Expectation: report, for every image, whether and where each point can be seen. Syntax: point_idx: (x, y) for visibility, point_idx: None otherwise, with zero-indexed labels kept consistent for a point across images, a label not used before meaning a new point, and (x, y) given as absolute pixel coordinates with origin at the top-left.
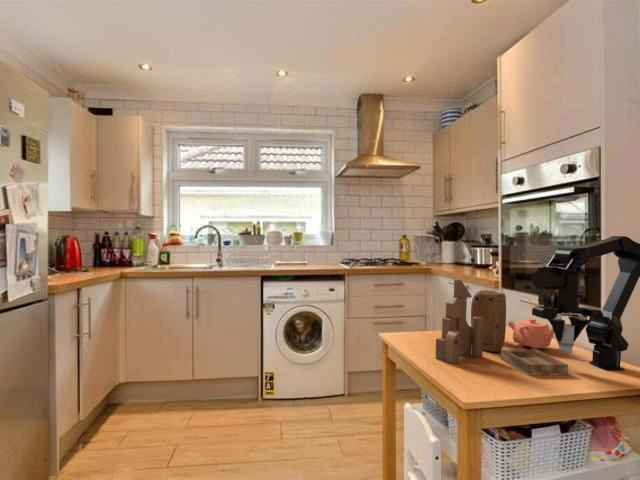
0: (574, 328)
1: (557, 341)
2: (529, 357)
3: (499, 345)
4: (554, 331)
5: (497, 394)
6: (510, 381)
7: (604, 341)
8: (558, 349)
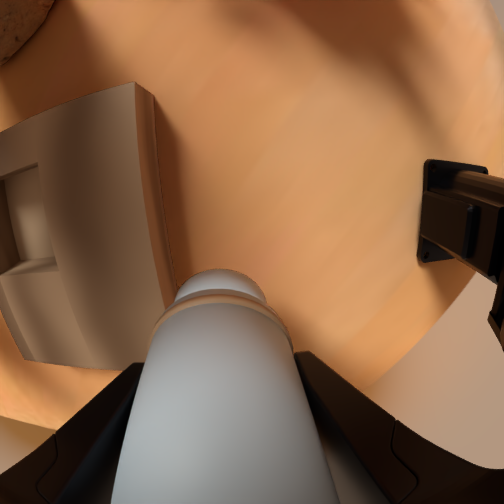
0: (343, 495)
1: (149, 339)
2: (30, 275)
3: (2, 45)
4: (74, 430)
5: (6, 407)
6: (11, 367)
7: (502, 331)
8: (174, 301)
